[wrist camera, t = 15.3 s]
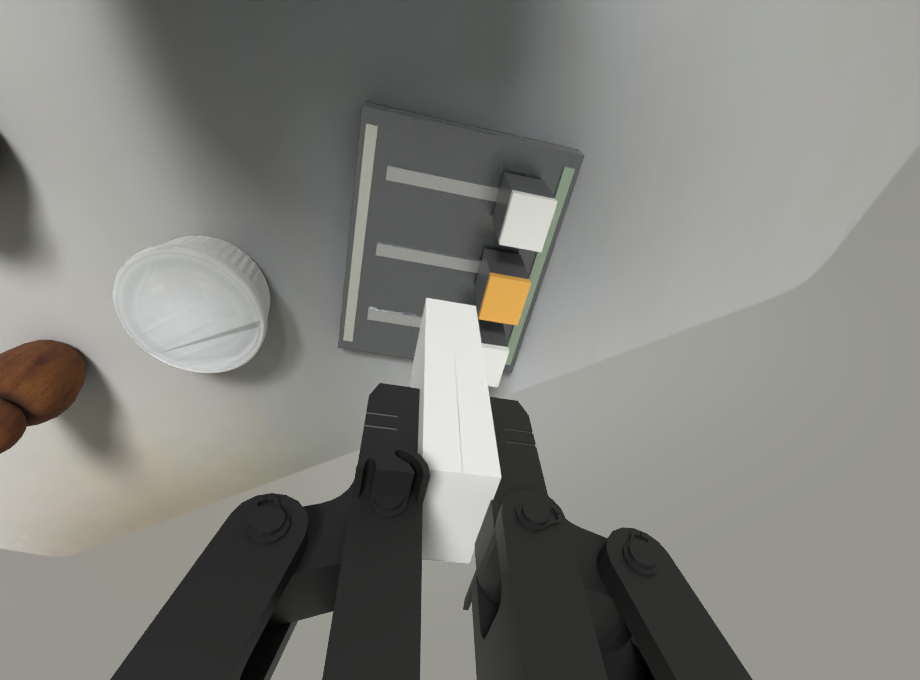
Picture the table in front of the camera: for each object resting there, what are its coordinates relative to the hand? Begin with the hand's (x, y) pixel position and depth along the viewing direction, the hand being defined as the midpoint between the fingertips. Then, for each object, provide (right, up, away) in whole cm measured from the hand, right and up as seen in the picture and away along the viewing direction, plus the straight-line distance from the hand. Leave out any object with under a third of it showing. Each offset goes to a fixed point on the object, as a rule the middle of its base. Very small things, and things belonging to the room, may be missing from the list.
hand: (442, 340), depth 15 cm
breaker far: (+2, +1, +28) cm, 29 cm away
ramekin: (-21, +5, +28) cm, 35 cm away
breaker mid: (+4, +6, +25) cm, 26 cm away
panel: (0, +7, +27) cm, 28 cm away
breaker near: (+5, +10, +22) cm, 25 cm away
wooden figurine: (-36, -1, +31) cm, 48 cm away
